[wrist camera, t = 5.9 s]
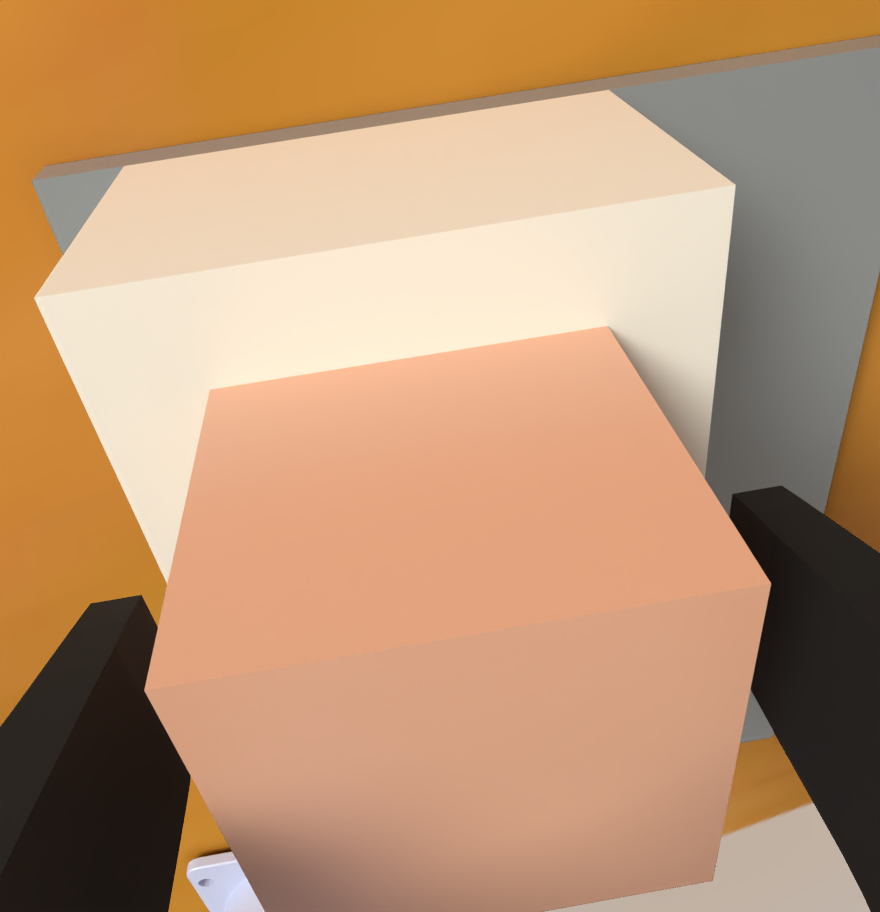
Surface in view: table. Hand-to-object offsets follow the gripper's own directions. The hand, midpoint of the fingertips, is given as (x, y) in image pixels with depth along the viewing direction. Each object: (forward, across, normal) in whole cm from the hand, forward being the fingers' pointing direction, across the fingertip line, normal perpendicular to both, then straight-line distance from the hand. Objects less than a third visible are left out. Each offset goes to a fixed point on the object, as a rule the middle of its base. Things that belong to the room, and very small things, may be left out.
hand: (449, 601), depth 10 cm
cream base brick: (+7, 0, 0) cm, 7 cm away
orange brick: (+2, 0, 0) cm, 2 cm away
